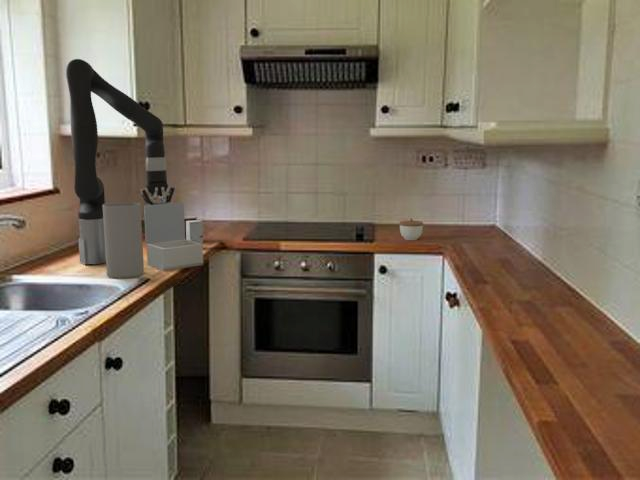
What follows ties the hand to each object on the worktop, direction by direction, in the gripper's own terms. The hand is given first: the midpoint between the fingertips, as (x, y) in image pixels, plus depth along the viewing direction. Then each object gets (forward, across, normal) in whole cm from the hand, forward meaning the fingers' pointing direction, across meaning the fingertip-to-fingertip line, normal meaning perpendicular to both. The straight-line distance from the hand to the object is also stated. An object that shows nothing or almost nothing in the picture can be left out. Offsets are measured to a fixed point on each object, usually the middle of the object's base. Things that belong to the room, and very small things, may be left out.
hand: (159, 214), depth 249 cm
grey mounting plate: (+3, 0, -5) cm, 6 cm away
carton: (+18, 0, -12) cm, 22 cm away
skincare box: (+18, +21, +12) cm, 30 cm away
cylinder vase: (+19, -21, -16) cm, 32 cm away
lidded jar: (+20, +109, -30) cm, 115 cm away
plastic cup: (+18, +25, +28) cm, 41 cm away
